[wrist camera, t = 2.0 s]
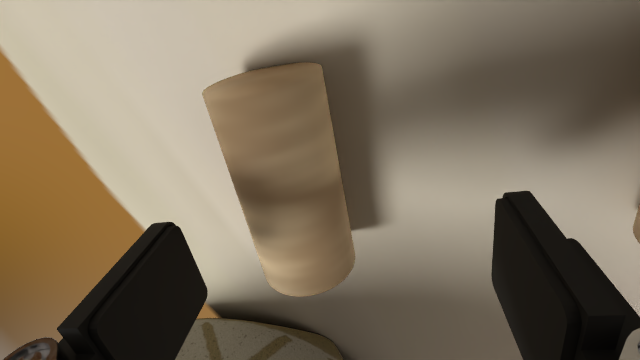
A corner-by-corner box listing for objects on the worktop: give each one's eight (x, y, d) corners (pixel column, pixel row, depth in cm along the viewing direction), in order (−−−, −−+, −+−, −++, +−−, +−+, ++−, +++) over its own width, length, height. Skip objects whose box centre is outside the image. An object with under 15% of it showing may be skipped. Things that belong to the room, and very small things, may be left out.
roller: (298, 58, 14) (197, 85, 13) (342, 70, 11) (209, 108, 10) (332, 222, 18) (255, 253, 17) (372, 270, 14) (279, 312, 13)
